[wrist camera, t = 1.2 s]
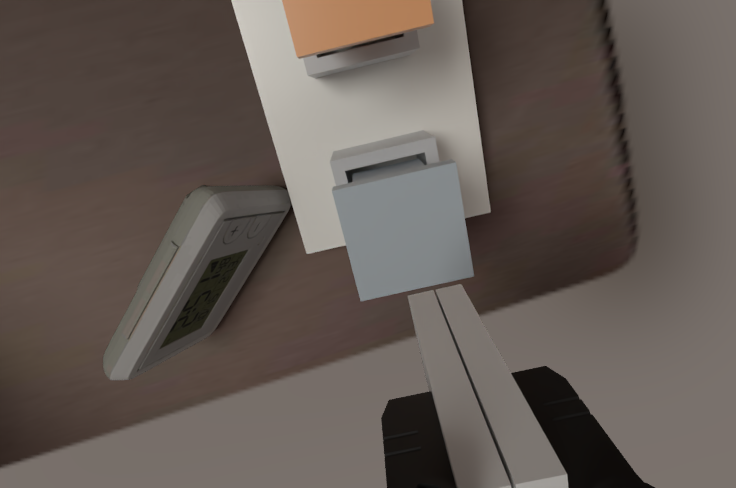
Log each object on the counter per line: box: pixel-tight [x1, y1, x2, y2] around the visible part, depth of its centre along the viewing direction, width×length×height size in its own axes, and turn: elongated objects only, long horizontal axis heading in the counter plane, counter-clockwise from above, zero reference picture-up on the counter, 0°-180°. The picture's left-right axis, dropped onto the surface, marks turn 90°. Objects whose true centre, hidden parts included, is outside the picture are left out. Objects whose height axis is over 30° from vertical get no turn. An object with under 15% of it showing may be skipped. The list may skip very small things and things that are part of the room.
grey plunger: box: [332, 159, 474, 301], centre depth 25 cm, size 6×6×8 cm
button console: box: [231, 0, 491, 254], centre depth 30 cm, size 15×20×8 cm
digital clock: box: [103, 185, 291, 380], centre depth 32 cm, size 16×9×11 cm, turn 135°
